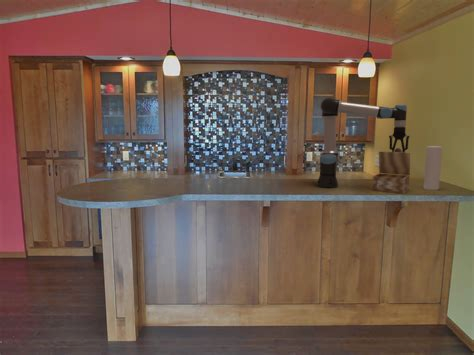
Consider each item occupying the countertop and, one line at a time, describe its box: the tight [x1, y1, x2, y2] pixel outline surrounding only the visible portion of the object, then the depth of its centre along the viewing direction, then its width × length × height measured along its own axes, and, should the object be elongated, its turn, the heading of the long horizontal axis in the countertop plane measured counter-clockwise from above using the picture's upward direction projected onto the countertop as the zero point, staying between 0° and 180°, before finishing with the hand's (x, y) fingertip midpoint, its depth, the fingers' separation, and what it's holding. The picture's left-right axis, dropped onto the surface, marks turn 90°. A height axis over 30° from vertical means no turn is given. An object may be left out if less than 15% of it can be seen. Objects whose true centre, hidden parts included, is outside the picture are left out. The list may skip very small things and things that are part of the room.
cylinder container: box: [423, 145, 443, 191], centre depth 241 cm, size 9×9×30 cm
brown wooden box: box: [371, 173, 410, 194], centre depth 239 cm, size 20×16×10 cm
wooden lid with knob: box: [378, 147, 411, 176], centre depth 246 cm, size 20×16×14 cm
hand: (397, 159), depth 250 cm, fingers open, 4 cm apart
